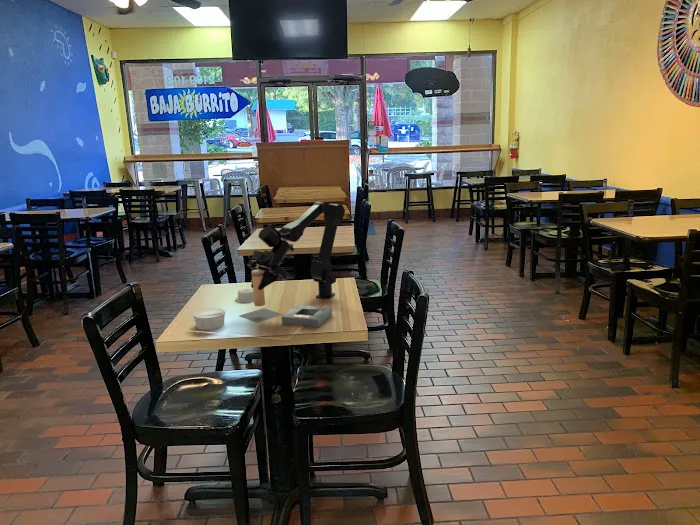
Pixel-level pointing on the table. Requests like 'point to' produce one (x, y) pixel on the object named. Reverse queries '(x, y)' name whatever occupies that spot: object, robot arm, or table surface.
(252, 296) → the mechanical component
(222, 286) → the table surface
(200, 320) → the ramekin
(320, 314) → the flange plate
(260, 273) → the peg
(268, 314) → the mat
